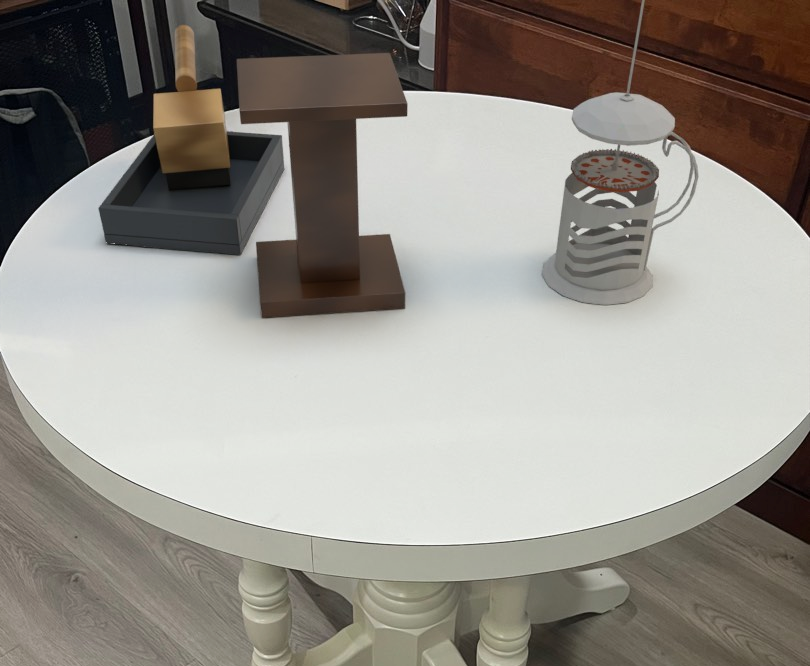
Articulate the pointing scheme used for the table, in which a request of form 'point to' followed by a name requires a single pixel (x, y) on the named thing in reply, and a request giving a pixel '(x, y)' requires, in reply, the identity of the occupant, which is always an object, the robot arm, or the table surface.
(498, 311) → the table surface
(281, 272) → the stand
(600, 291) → the french press
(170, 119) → the brush
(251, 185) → the tray
